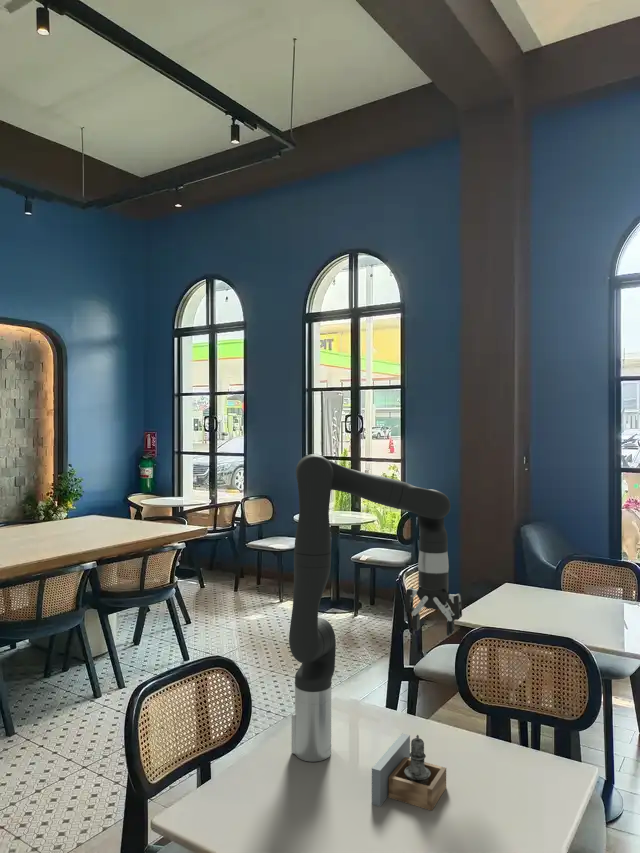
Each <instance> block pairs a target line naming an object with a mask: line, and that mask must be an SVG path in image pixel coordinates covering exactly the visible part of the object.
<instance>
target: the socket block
mask: <svg viewBox="0 0 640 853" xmlns="http://www.w3.org/2000/svg"><path fill="white" fill-rule="evenodd" d="M410 765H411V757H410V758H408V757H405V758H404V759H403V760H402V761H401V763H400V764H399V765H398V766H397V768H396V769H395V770H394V771H393V773H392V774H391V775H390V776H389V796H388V798H389V799H393V800H396V801H399V802H402V803H405V804H408V805H412V806H414V807H415V806H416V807H418V808H422V809H425V810H429V811H433V810H434V808H435V806H436V804H438V801H439V800H440V798H441V797H442V795H443V793H444V792H445V791H446V788H447V767H444V766H440V765H437V764H433V763H430V762H425V761H424V766H425V767H426V768H427V769H429V771H430V772H431V775H430V777H429V780H428V782H427V783H426V784H427V785H428V786H427V785H423V784H420V783H416V782H413V781H409V780H407V778H406V775H405V773H404V770H405V769H406V768H407V767H409V766H410Z"/></svg>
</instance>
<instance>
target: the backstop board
mask: <svg viewBox="0 0 640 853" xmlns="http://www.w3.org/2000/svg"><path fill="white" fill-rule="evenodd" d="M410 753H411V735H410V734H406V733H403V732H402V733H401V734H400V735H399V736H398V737H397V739H396V740H395V741H394V742H393V743H392V744H391V746H389V748H388V749H387V750H386V751H385V752H384V753H383V755H382V756H381V757H380V758H379V759H378V760H377V761H376V763H375V764H374V765H373V766H372V767H371V805H374V806H376V807H382V805H383V803H384V802H385V801H386V800H387V799H388V798H389V776H390V775H391V774H392V773H393V771H394V770H395V769H396V768H397V766H398V765H399V764H400V763H401V761H402V760H403V759H404V758H405V757H408V758H411V757H410V755H409V754H410Z"/></svg>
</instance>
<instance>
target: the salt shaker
mask: <svg viewBox="0 0 640 853" xmlns="http://www.w3.org/2000/svg"><path fill="white" fill-rule="evenodd" d="M409 755H410V758H411V765H410V766H409V767H407V768H406V769H405V770H404V773H405V775H406V778H407V780H409V781H413V782H416V783H420V784H423V785H427V784H426V783H427V782H428V780H429V777H430V775H431V772H430V771H429V769H427V768H426V767H425V766H424V762H425V758H426V757H427V756H426V754H425V742H424V740H423V739H422V738H420V736H419V735H418V734H417V735H416V736H415V737H414V738H413V739H411V740H410V754H409ZM427 786H428V785H427Z"/></svg>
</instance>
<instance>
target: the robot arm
mask: <svg viewBox="0 0 640 853" xmlns="http://www.w3.org/2000/svg"><path fill="white" fill-rule="evenodd" d="M295 476H296V480H297V482H296V483H297V488H298V489H297V490H298V504H299V506H298V509H299V511H298V520H297V526H296V531H295V536H294V537H295V538H294V549H293V550H294V551H293V592H292V593H293V596H292V608H291V609H292V610H291V617H290V618H291V619H290V625H289V634H288V644H289V649H290V653H291V655H292V656H293V658H294V659H295V660H296V661H297V662H298V663H300V664H301V665H300V666H299V667H298V668H297V670H296V673H295V676H294V713H293V714H291V751H290V752H291V754H294V755H295V756H296V757H297V758H298V759H299V760H302V761H305V762H314V763H315V762H321V761H324V760H326V759H328V758H329V757H330V756H331V754H332V679H333V676H334V674H335V669H336V667H335V666H336V648H337V647H336V645H337V644H336V643H337V641H336V640H337V639H336V633H335V631H334V628H333V626H332V624H331V623H330V622H329V621H328V620H327V619H325V618H321V617H319V608H320V603H321V599H322V597H323V593H324V591H325V589H326V587H327V583H328V581H329V577H330V574H331V569H332V568H331V566H332V563H331V562H332V536H331V525H330V524H331V523H330V501H331V494H332V491H336V492H342V493H346V494H349V495H352V496H356V497H358V498H361V499H363V500H367V501H368V502H371V503H375V504H379V505H381V506H384V507H389V508H393V509H397V510H403V511H407V512H410V513H412V514H416V515H417V519H418V526H419V553H418V572H417V573H418V575H417V576H418V589H417V588H414V587H412V586H411V587H409V588H408V589H406V592H405V606H404V610H405V613H410V614H411V615H412V617H411V619H412V621H411V622H412V628H413V629H414V631H419V630H420V629H421V620H420V619H421V614H420V612H421V611H422V609H424V608H425V609H433V610H435V611H439V610H440V611H441V613H442V614H443V615H444V617H445V618H446V619H447V621H446V636H448V637H450V636H452V635H453V633H454V632H455V621H458V620H460V619H461V618H462V616H463V611H462V610H463V607H462V594H461V593H456V594H451V593H450V592H449V569H450V565H449V556H448V555H449V554H448V549H449V548H448V547H449V546H448V544H449V543H448V533H447V532H448V531H447V530H446V527H445V519H444V517H446V516H447V515H448V514H449V513H450V511H451V501H450V499H449V497H448V495H446V494H445V493H443V492H441V491H439V490H436V489H431V488H430V489H429V488H428V489H427V488H424V487H419V486H414V485H413V484H410V483H408V482H405V481H402V480H398V479H394V478H389V477H387V476H382V475H377V474H373V473H368V472H364V471H360V470H356V469H351V468H350V467H346V466H343V465H342V464H341V465H340V464H338V463H336V462H334V461H331V460H329V459H327V458H326V457H324V456H323V455H320V454H317V453H311V454H308V455H304V456H303V457H302V458H301V459H300V460H299V461H298V463H297V464H296V468H295ZM416 596H417V597H418V599H419V602H418V604H417V605H416V606H415V607H414V598H415V597H416ZM449 600H451V603H452V604H453V610H452V609H451V606H450V605H449V603H448V601H449Z"/></svg>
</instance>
